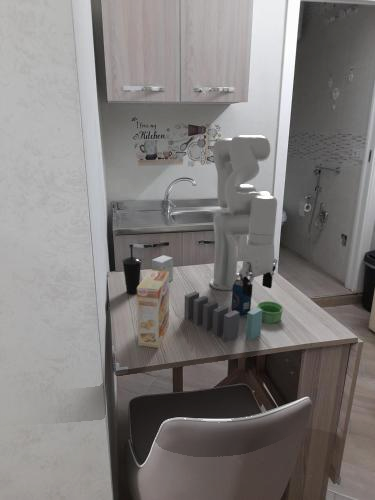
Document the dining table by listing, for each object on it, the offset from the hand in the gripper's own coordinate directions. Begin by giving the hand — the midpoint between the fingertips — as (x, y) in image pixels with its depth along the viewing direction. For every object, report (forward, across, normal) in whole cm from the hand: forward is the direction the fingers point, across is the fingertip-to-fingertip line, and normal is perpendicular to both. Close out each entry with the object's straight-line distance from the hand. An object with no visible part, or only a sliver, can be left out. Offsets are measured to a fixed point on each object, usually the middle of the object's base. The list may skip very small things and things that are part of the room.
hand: (257, 290), depth 115 cm
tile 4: (+16, +7, -13) cm, 22 cm away
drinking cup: (+16, +11, -54) cm, 57 cm away
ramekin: (+16, -14, -4) cm, 22 cm away
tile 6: (+16, +7, -4) cm, 18 cm away
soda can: (+16, -9, -14) cm, 23 cm away
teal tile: (+16, 0, 0) cm, 16 cm away
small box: (+16, -5, -54) cm, 57 cm away
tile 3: (+16, +7, -18) cm, 25 cm away
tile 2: (+16, +7, -22) cm, 28 cm away
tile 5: (+16, +7, -9) cm, 19 cm away
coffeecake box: (+16, +24, -22) cm, 36 cm away
